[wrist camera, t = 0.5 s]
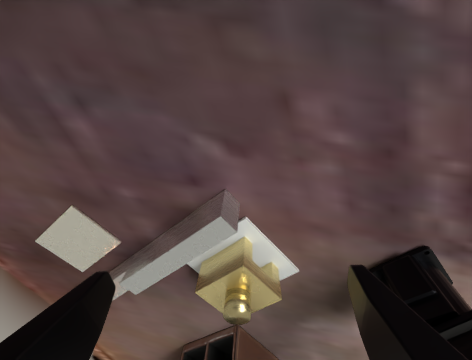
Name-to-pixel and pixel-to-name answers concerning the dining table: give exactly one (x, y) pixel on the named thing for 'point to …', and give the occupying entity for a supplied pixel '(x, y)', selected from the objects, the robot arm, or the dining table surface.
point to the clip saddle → (238, 283)
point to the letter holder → (227, 347)
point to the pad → (261, 250)
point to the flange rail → (152, 255)
